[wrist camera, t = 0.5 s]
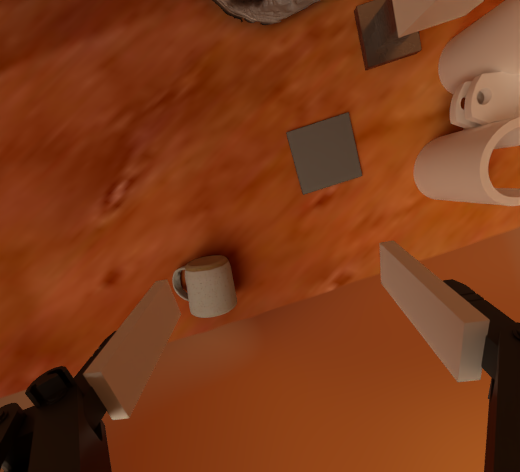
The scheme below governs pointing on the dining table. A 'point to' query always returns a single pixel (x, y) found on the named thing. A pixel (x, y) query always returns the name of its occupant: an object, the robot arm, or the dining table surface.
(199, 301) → the ceramic mug
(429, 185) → the bracket
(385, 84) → the dining table surface
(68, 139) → the dining table surface
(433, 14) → the beige block piece
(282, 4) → the food plate
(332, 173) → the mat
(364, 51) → the post
